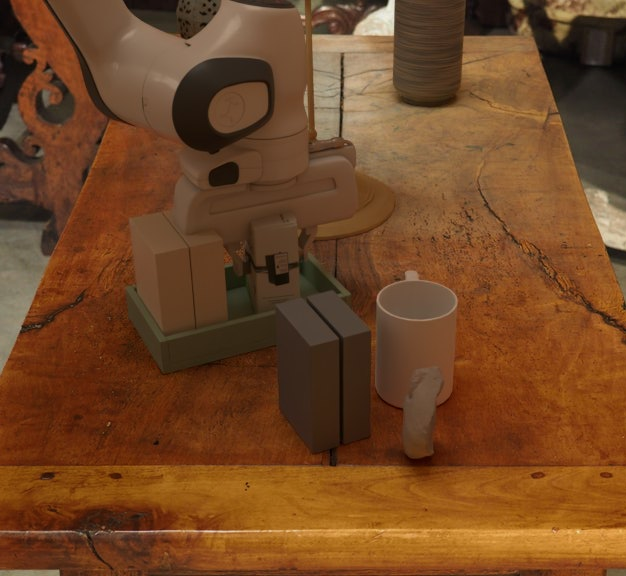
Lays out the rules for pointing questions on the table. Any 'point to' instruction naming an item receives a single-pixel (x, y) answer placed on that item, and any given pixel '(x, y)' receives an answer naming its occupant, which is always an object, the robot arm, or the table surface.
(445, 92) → the vase
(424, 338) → the mug
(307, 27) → the desk lamp
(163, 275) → the cream books
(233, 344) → the book trough
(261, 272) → the ink box
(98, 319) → the table surface
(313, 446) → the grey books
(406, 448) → the fossil
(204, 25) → the lantern
